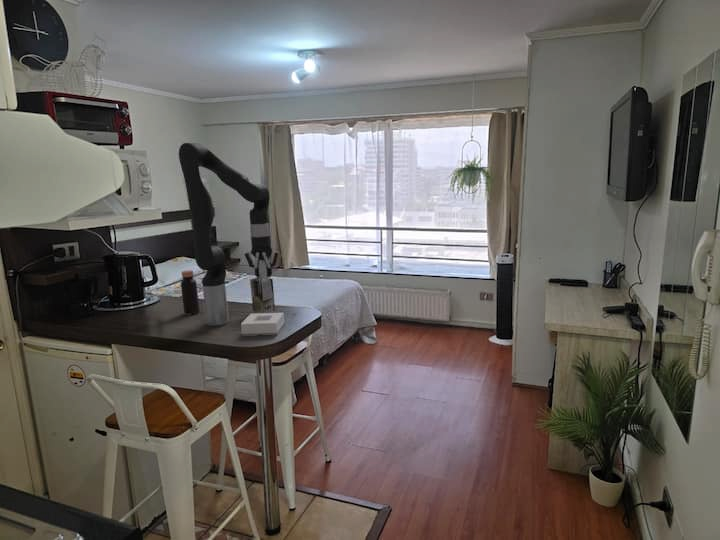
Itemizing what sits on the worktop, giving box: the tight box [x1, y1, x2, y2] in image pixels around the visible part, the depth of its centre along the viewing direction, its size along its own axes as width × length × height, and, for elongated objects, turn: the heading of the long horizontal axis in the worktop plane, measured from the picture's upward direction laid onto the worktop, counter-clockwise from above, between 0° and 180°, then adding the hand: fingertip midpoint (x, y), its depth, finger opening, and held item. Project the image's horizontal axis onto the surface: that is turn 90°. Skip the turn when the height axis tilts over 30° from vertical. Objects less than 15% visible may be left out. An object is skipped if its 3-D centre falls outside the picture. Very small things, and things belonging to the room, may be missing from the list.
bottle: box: [180, 270, 200, 315], centre depth 215 cm, size 7×7×20 cm
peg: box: [258, 260, 270, 285], centre depth 187 cm, size 4×4×10 cm
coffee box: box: [249, 277, 276, 313], centre depth 210 cm, size 9×6×16 cm
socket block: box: [240, 312, 285, 337], centre depth 187 cm, size 14×14×5 cm
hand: (263, 276), depth 187 cm, fingers closed on peg, 4 cm apart
